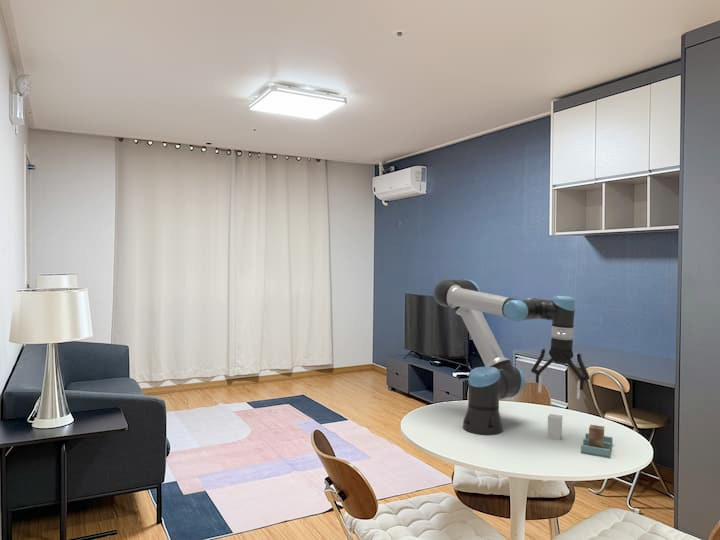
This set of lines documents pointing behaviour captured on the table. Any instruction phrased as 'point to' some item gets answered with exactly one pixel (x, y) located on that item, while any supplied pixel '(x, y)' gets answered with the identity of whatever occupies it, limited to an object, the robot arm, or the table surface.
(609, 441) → the teal-ribbed grey panel
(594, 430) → the walnut plug
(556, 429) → the white rectangular block
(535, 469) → the table surface
